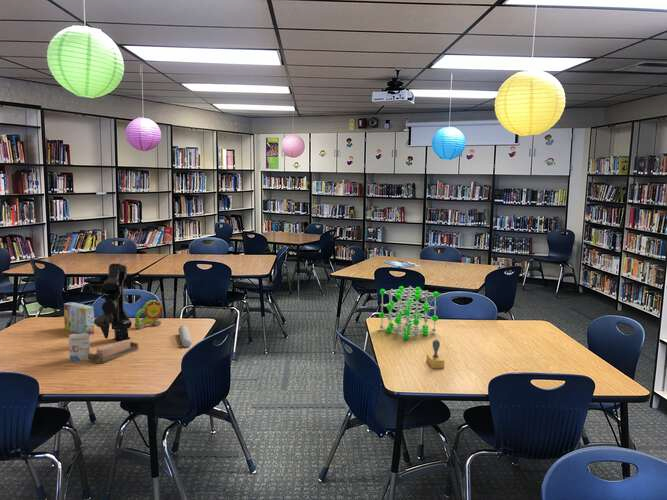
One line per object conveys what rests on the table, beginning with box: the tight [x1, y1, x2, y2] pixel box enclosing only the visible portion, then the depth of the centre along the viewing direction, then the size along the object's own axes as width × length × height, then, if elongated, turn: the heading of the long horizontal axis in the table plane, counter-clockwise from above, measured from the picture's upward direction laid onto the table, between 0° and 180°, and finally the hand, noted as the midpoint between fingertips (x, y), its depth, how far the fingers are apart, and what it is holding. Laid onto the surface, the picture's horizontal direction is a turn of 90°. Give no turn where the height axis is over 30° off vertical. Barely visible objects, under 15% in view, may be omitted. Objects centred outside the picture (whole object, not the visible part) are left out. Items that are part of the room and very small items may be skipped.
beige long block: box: [96, 339, 131, 357], centre depth 249 cm, size 4×16×4 cm, turn 152°
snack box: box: [63, 301, 95, 335], centre depth 286 cm, size 21×6×15 cm, turn 58°
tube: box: [178, 325, 193, 348], centre depth 273 cm, size 5×5×25 cm
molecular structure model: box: [378, 285, 440, 341], centre depth 293 cm, size 24×25×24 cm
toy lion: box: [134, 299, 164, 330], centre depth 297 cm, size 16×5×15 cm, turn 133°
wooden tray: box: [88, 341, 139, 365], centre depth 249 cm, size 9×22×3 cm, turn 156°
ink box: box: [68, 333, 91, 363], centre depth 242 cm, size 9×5×12 cm, turn 117°
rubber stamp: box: [426, 339, 445, 369], centre depth 241 cm, size 10×6×12 cm, turn 5°
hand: (113, 339), depth 248 cm, fingers open, 9 cm apart
